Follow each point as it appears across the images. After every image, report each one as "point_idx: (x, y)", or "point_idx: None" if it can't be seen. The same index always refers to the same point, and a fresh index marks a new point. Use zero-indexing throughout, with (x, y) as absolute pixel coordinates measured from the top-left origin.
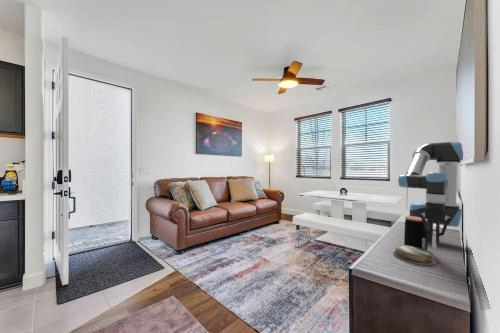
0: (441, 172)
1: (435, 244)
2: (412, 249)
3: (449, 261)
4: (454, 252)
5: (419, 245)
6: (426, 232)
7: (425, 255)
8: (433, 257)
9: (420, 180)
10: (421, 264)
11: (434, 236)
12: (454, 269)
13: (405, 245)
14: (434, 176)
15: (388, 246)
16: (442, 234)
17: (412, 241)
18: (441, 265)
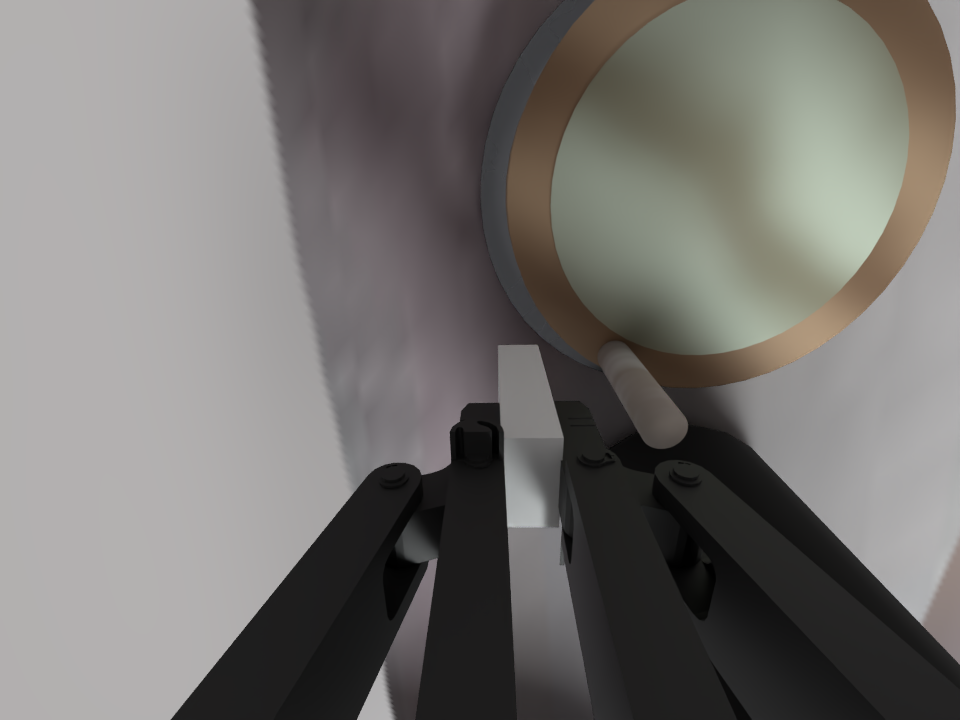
0: None
1: (502, 367)
2: (737, 227)
3: (398, 370)
4: (402, 624)
5: (656, 465)
6: (678, 464)
7: (589, 82)
8: (507, 197)
9: None
10: None
11: (525, 428)
12: (330, 152)
13: (806, 351)
14: None
15: (916, 382)
16: (387, 473)
17: (743, 478)
18: (436, 175)
